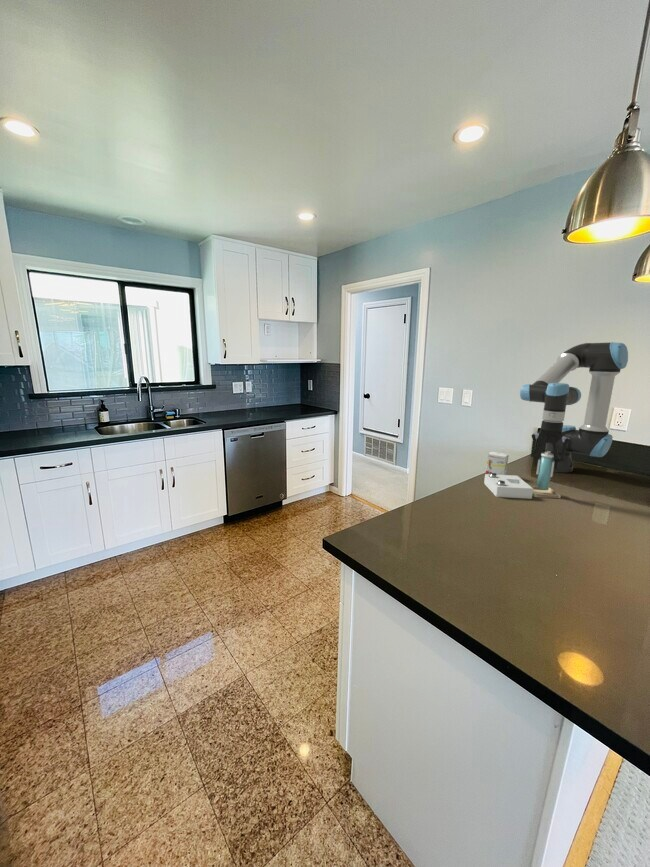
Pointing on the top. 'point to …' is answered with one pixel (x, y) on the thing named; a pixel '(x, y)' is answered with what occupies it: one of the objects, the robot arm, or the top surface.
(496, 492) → the housing
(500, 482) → the plunger
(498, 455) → the ink box
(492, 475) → the plunger
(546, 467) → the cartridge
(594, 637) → the top surface
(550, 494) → the tray
